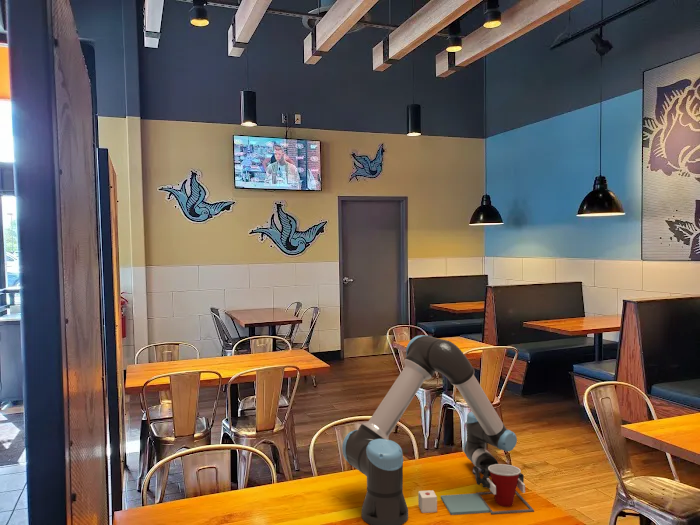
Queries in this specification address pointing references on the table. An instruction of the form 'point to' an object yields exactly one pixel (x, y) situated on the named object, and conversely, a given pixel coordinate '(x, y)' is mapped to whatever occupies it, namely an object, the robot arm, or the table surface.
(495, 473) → the plastic cup
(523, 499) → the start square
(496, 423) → the robot arm
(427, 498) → the die
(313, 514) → the table surface
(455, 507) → the pad
